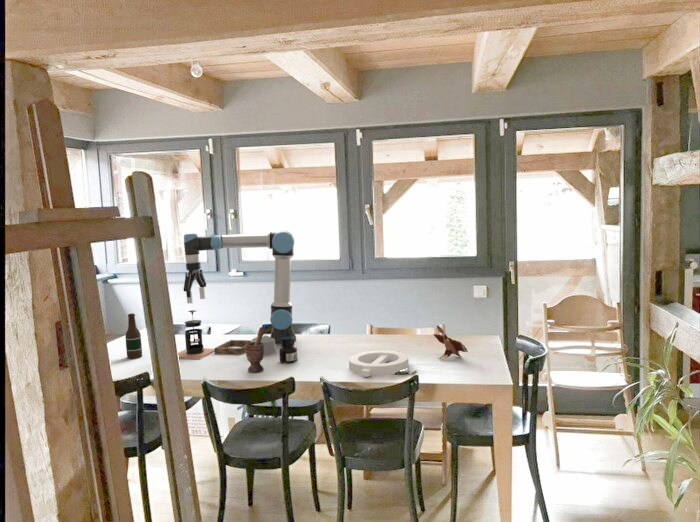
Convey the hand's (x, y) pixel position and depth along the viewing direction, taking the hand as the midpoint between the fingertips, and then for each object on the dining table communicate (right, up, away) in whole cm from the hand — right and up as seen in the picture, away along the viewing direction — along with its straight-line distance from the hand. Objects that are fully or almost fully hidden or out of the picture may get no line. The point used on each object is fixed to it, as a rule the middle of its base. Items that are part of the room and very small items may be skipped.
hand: (196, 301), depth 307 cm
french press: (-1, -28, +1) cm, 28 cm away
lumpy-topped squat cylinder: (+37, -28, -3) cm, 47 cm away
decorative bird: (+132, -26, -32) cm, 138 cm away
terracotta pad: (-1, -29, 0) cm, 29 cm away
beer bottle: (-34, -31, 0) cm, 45 cm away
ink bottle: (+53, -29, -23) cm, 64 cm away
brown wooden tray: (+20, -27, +7) cm, 35 cm away
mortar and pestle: (+39, -31, -35) cm, 61 cm away
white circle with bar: (+97, -29, -40) cm, 109 cm away
